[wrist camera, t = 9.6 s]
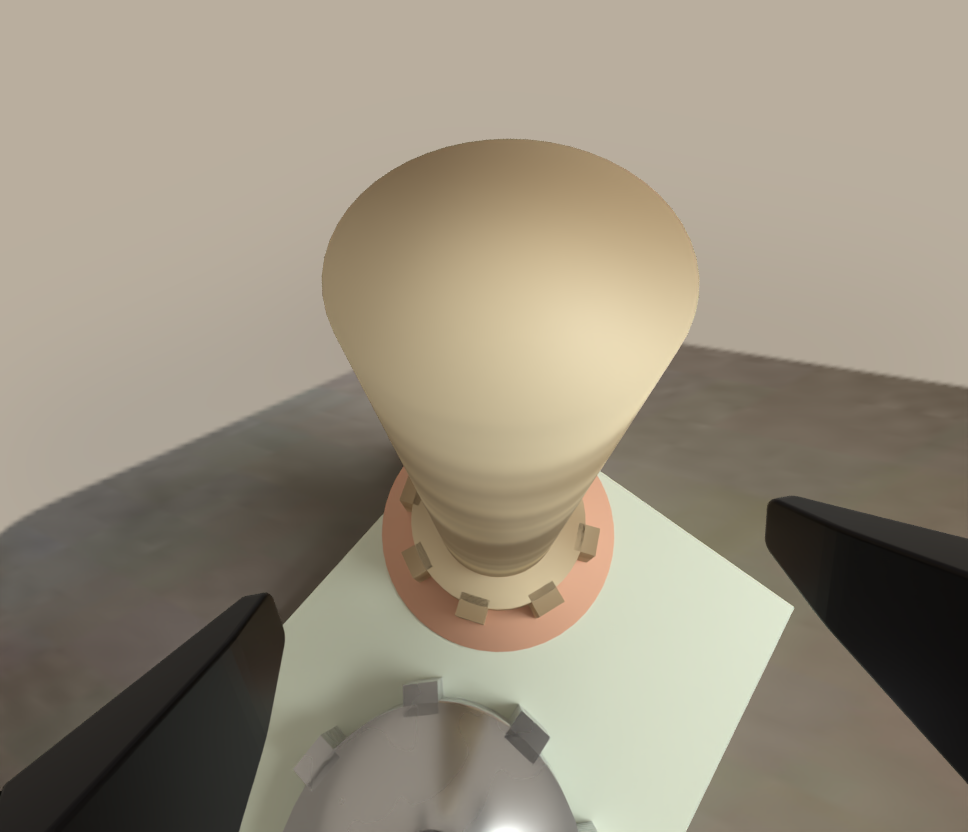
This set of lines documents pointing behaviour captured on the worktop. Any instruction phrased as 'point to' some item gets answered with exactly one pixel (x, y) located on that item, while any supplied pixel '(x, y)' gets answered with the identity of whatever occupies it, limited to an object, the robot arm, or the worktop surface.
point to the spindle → (507, 348)
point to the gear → (433, 772)
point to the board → (541, 662)
